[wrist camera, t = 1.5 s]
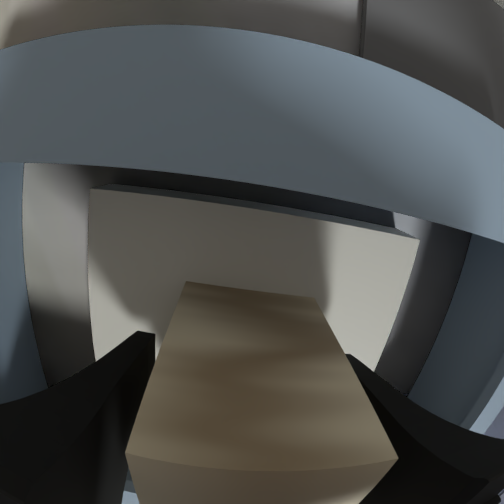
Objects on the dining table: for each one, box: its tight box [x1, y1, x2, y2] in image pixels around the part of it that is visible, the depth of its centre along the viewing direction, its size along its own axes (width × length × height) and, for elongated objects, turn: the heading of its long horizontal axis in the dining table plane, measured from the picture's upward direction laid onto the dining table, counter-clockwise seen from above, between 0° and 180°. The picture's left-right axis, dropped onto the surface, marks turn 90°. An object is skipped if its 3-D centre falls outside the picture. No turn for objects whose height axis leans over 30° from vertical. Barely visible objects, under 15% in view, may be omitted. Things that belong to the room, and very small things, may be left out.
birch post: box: [125, 281, 399, 504], centre depth 8 cm, size 4×4×7 cm
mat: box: [359, 0, 504, 129], centre depth 9 cm, size 10×10×1 cm
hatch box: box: [0, 25, 504, 504], centre depth 10 cm, size 24×18×6 cm
